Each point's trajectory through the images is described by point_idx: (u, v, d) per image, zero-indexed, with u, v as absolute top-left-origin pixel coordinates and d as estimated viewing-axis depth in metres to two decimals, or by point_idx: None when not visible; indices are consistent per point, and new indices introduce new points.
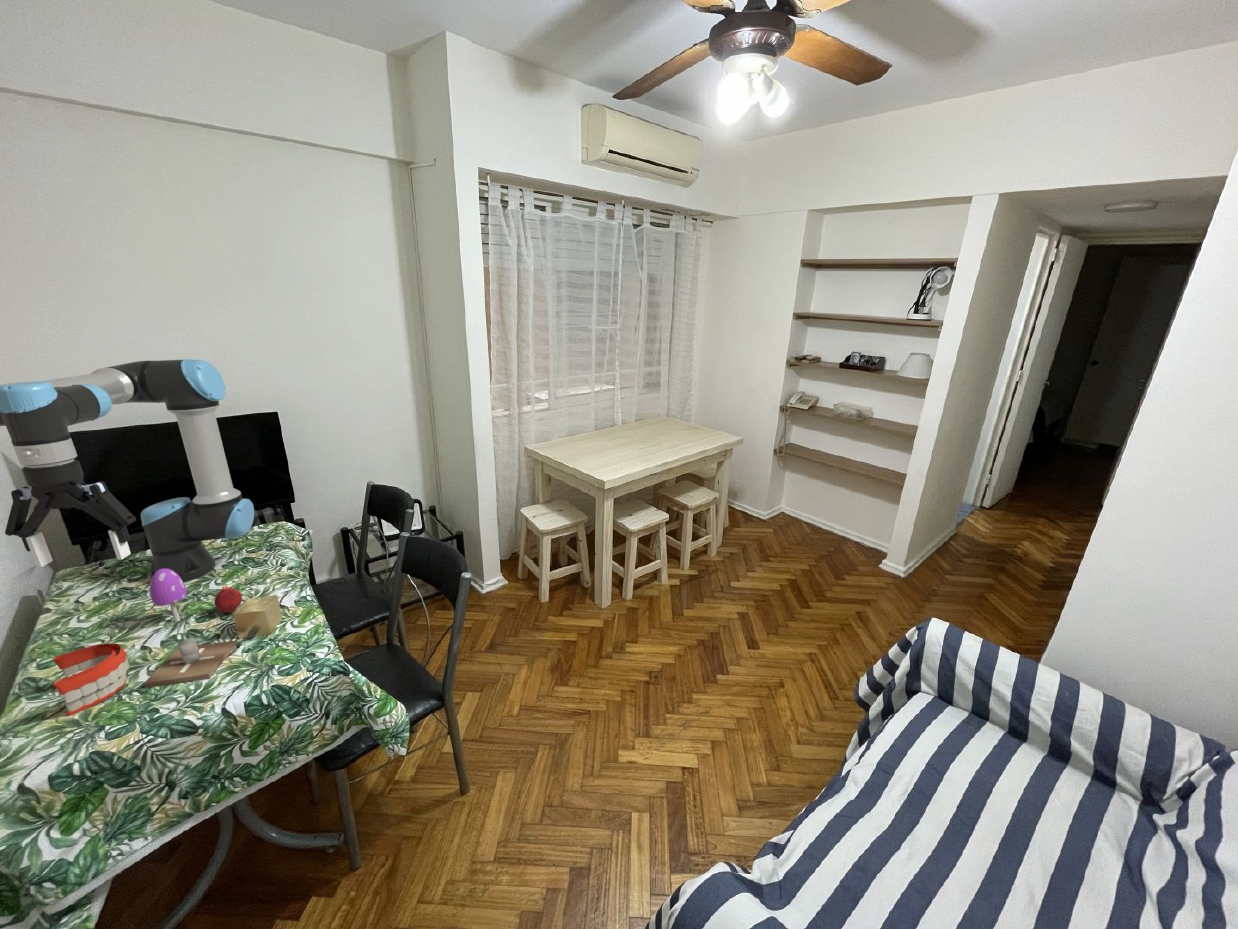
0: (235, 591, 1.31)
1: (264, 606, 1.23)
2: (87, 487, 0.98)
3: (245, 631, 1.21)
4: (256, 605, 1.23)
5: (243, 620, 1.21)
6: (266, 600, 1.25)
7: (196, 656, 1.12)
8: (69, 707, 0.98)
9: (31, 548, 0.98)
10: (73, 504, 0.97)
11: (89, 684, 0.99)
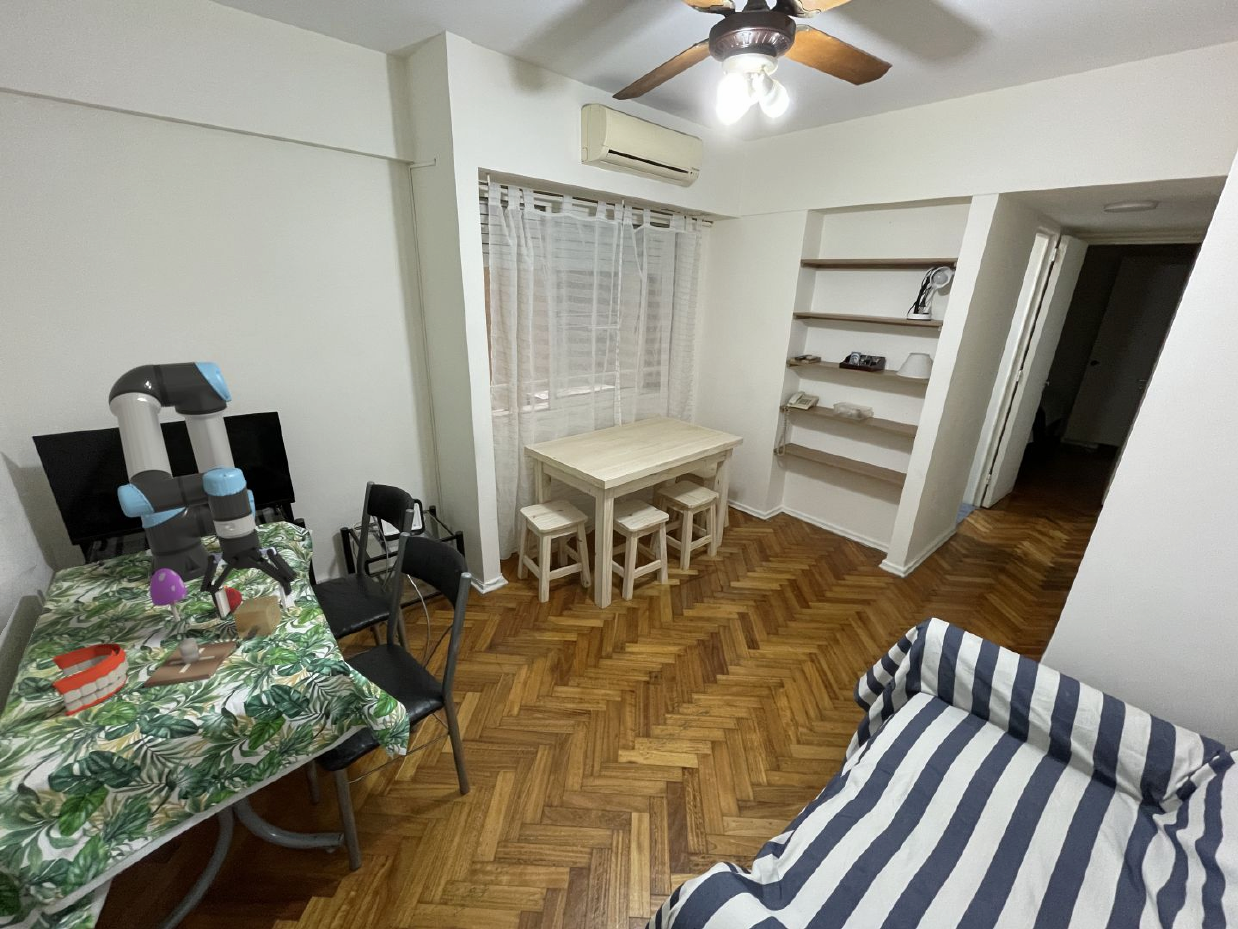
0: (235, 591, 1.31)
1: (264, 606, 1.23)
2: (264, 551, 1.20)
3: (245, 631, 1.21)
4: (256, 605, 1.23)
5: (243, 620, 1.21)
6: (266, 600, 1.25)
7: (196, 656, 1.12)
8: (68, 707, 0.98)
9: (218, 601, 1.20)
10: (254, 565, 1.19)
11: (89, 684, 0.99)
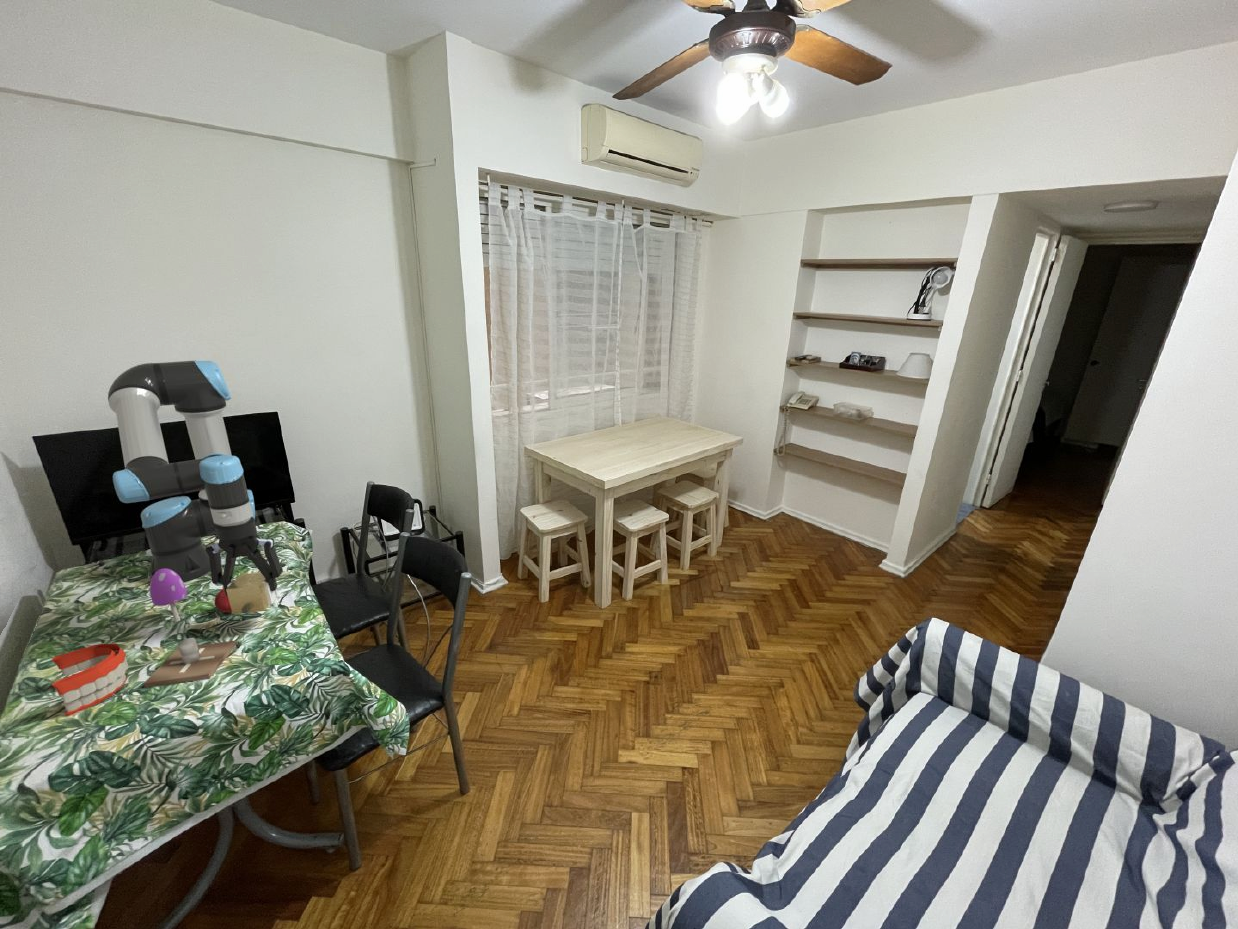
0: None
1: (258, 582, 1.21)
2: (262, 542, 1.19)
3: (239, 607, 1.20)
4: (250, 581, 1.21)
5: (237, 596, 1.19)
6: (260, 576, 1.24)
7: (196, 656, 1.12)
8: (68, 707, 0.98)
9: None
10: (247, 555, 1.18)
11: (88, 684, 0.99)
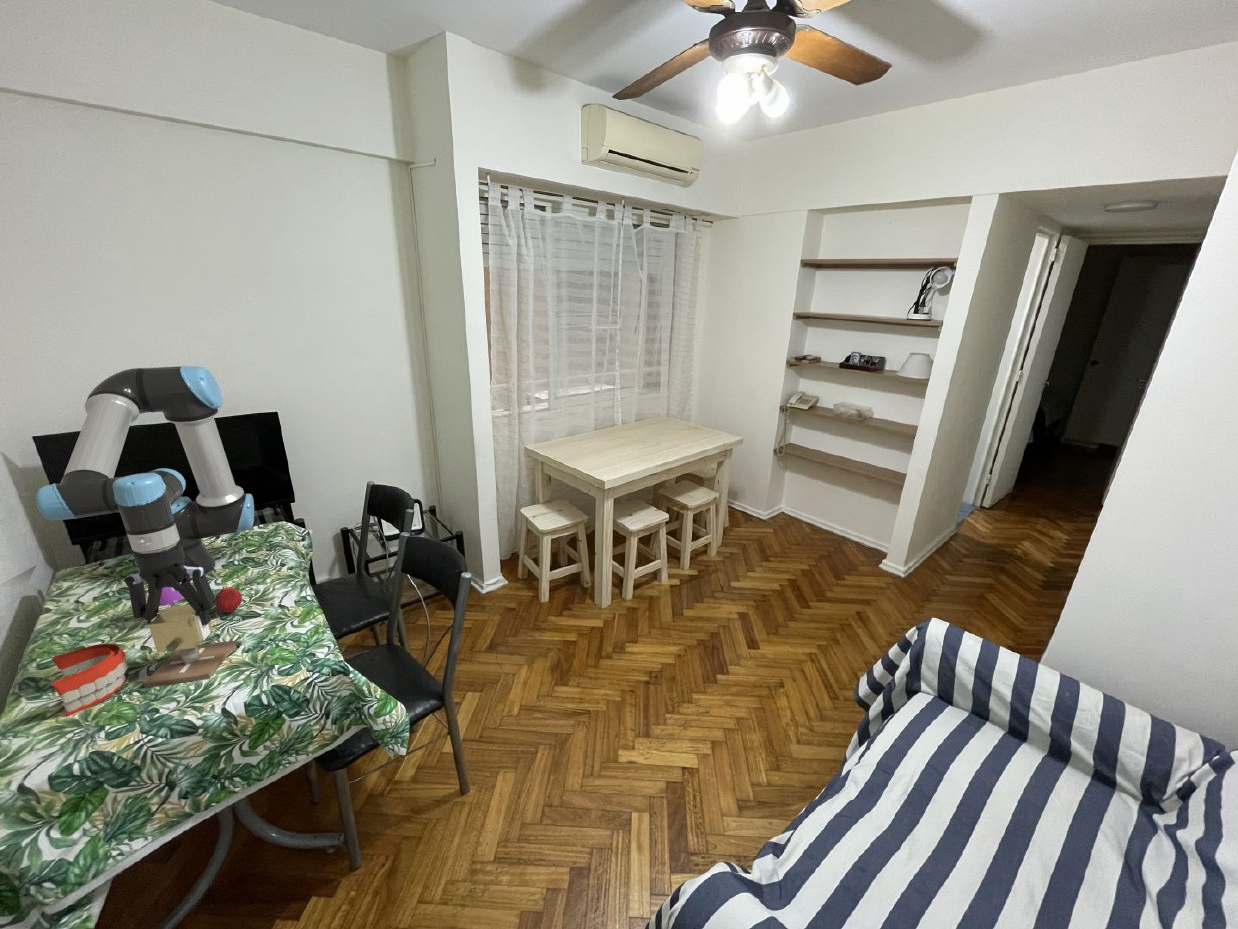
0: (235, 591, 1.31)
1: (187, 615, 1.07)
2: (190, 570, 1.06)
3: (164, 644, 1.06)
4: (178, 614, 1.08)
5: (161, 632, 1.05)
6: (191, 608, 1.10)
7: (196, 656, 1.12)
8: (67, 707, 0.98)
9: None
10: (173, 585, 1.05)
11: (87, 685, 0.99)
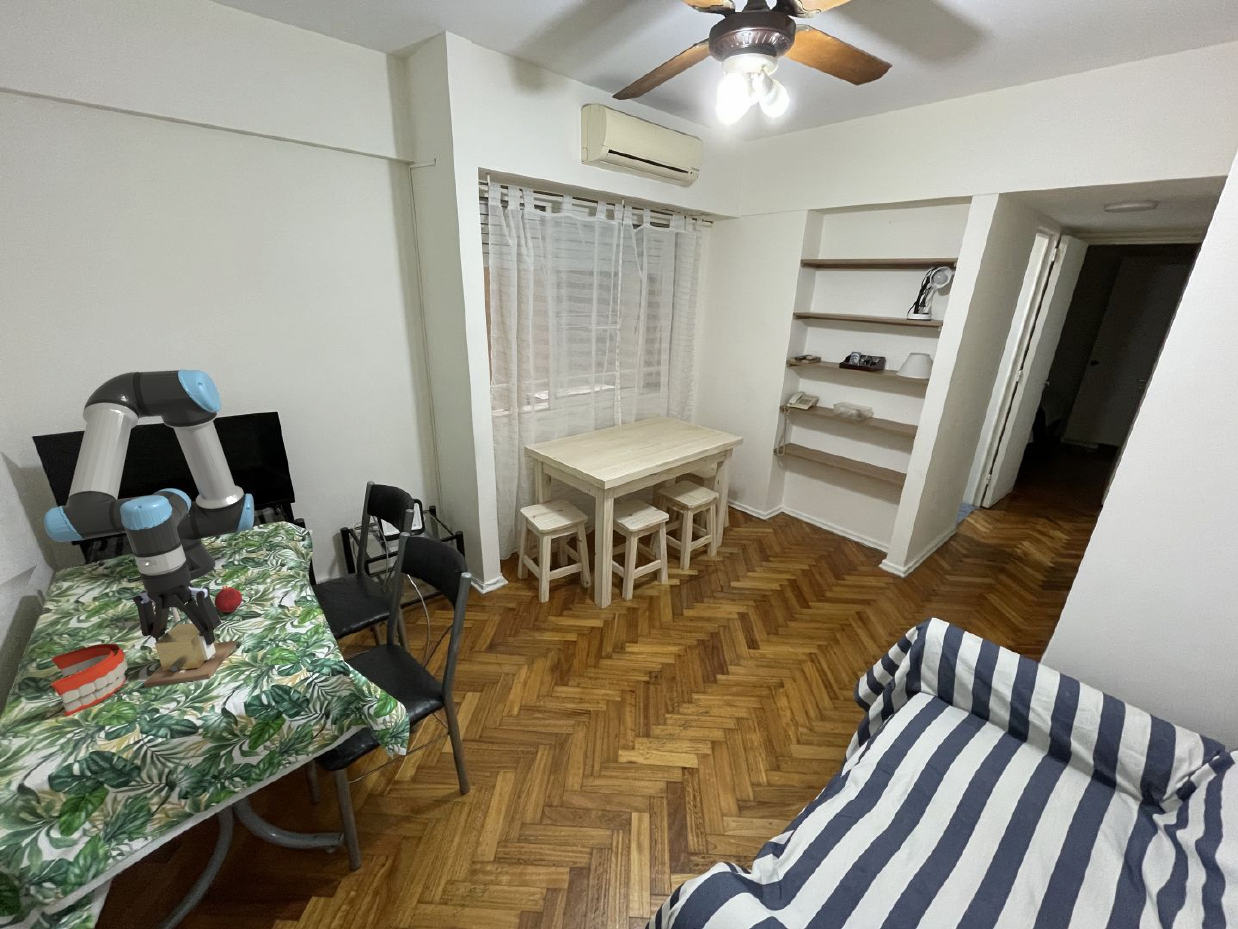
0: (235, 591, 1.31)
1: (191, 635, 1.09)
2: (194, 591, 1.07)
3: (169, 663, 1.08)
4: (184, 634, 1.09)
5: (166, 651, 1.07)
6: None
7: None
8: (67, 707, 0.98)
9: None
10: (178, 606, 1.06)
11: (87, 685, 0.99)
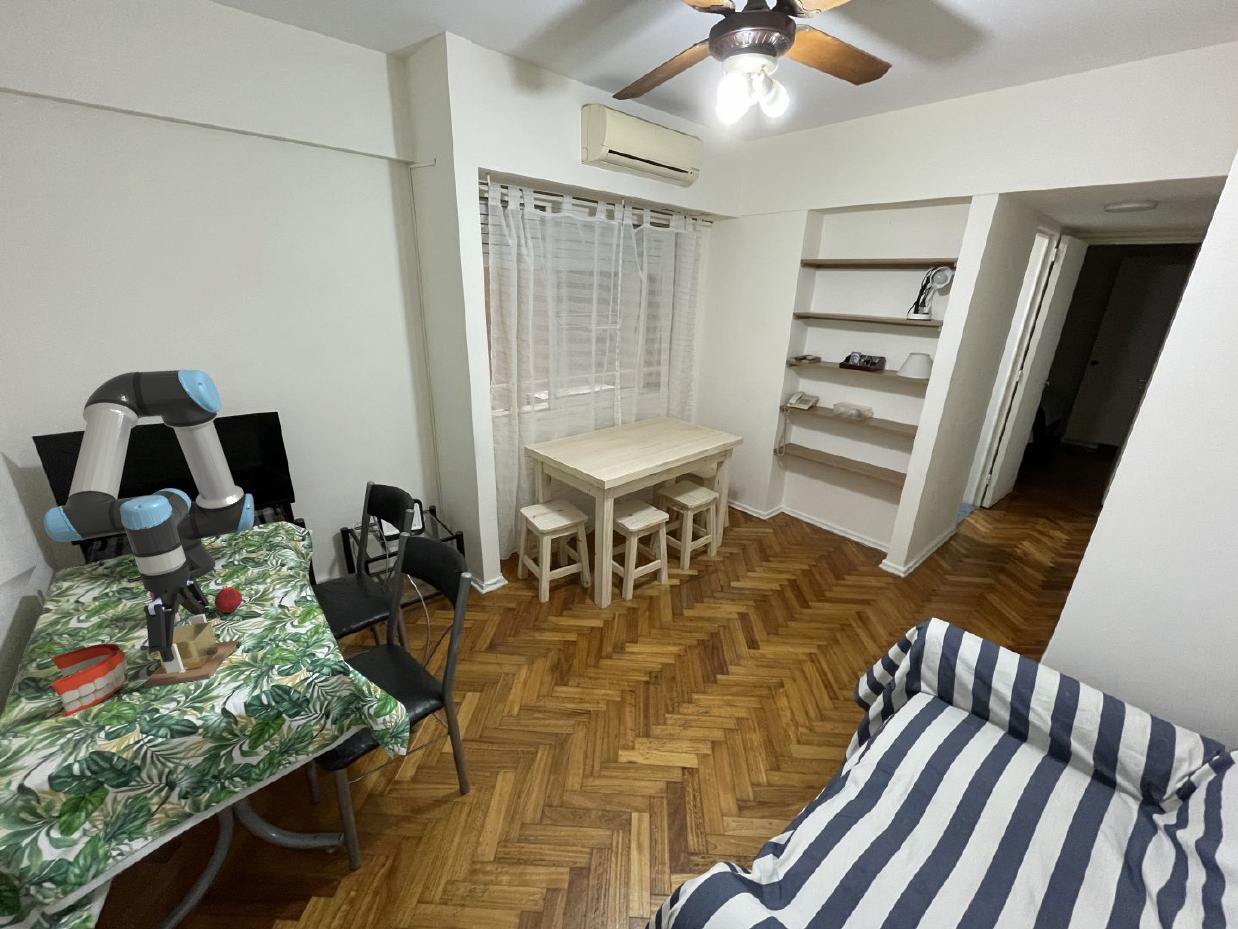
0: (235, 591, 1.31)
1: None
2: None
3: None
4: (179, 635, 1.09)
5: None
6: (185, 637, 1.09)
7: None
8: (67, 707, 0.98)
9: None
10: None
11: (87, 685, 0.99)
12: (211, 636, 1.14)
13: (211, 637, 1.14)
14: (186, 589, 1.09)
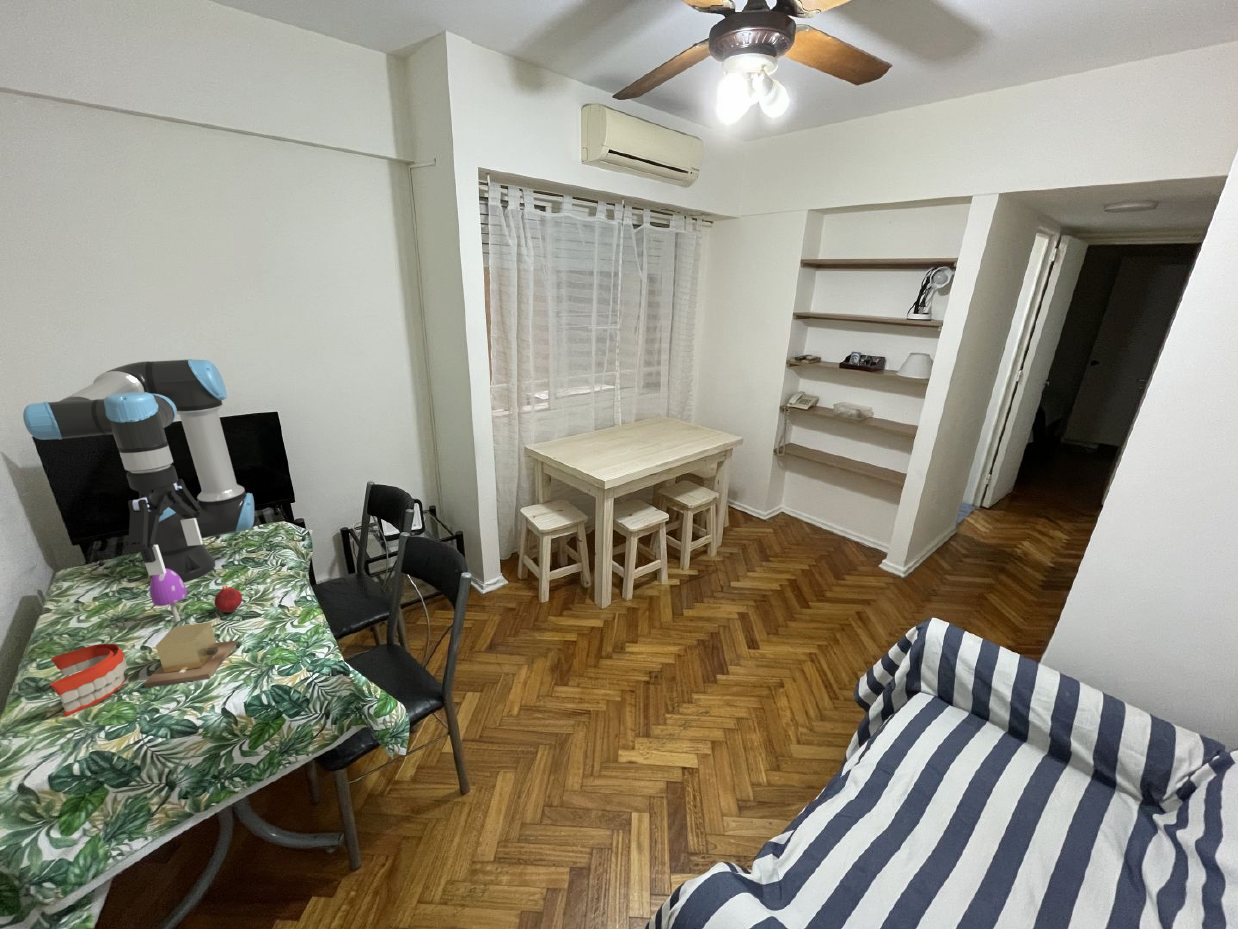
0: (235, 591, 1.31)
1: (168, 641, 1.07)
2: None
3: None
4: (179, 635, 1.09)
5: None
6: (185, 637, 1.09)
7: None
8: (66, 707, 0.98)
9: None
10: None
11: (86, 685, 0.99)
12: (211, 636, 1.14)
13: (211, 637, 1.14)
14: (174, 493, 1.06)
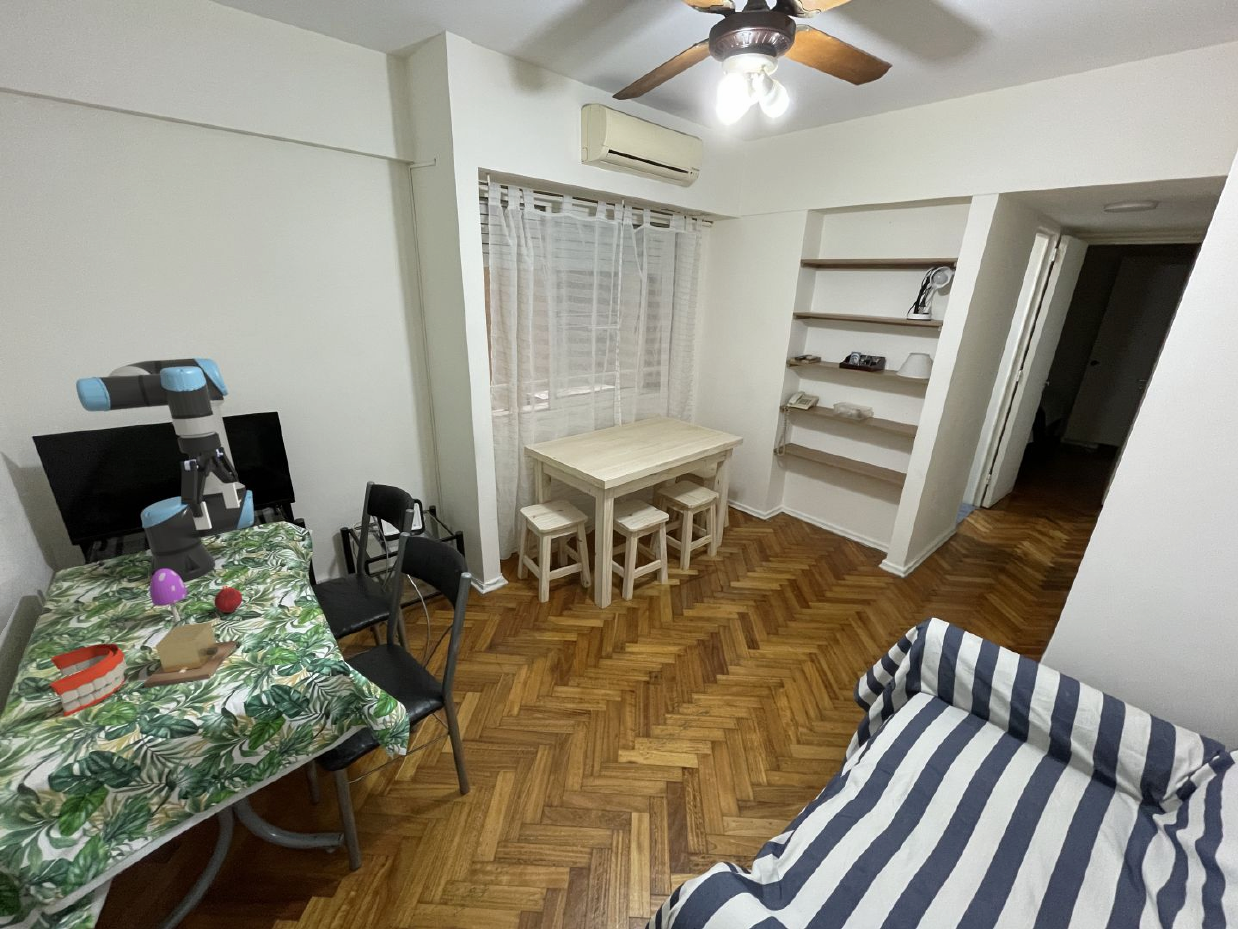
0: (235, 591, 1.31)
1: (168, 641, 1.07)
2: None
3: None
4: (179, 635, 1.09)
5: None
6: (185, 637, 1.09)
7: None
8: (66, 708, 0.98)
9: None
10: None
11: (86, 685, 0.99)
12: (211, 636, 1.14)
13: (211, 637, 1.14)
14: (217, 458, 1.19)
